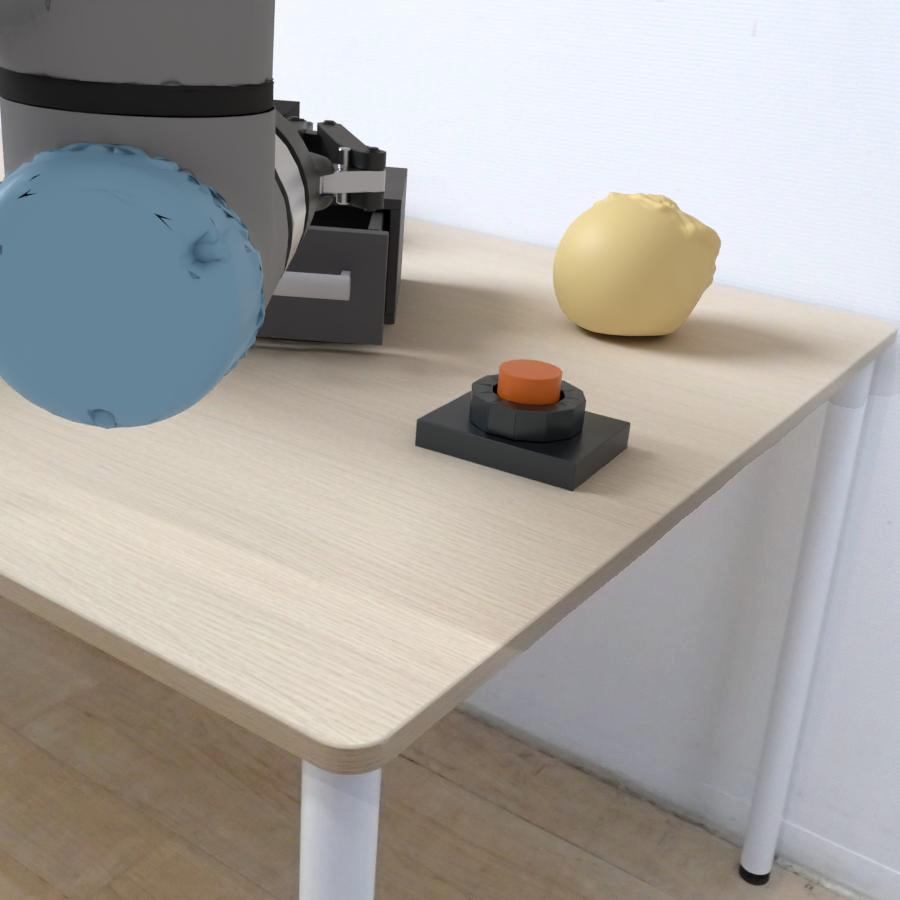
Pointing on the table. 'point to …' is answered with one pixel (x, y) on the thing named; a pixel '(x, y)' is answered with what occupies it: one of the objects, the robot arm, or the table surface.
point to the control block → (525, 434)
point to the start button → (529, 382)
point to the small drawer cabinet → (392, 235)
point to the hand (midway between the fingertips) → (285, 125)
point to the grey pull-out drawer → (334, 281)
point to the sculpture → (634, 265)
